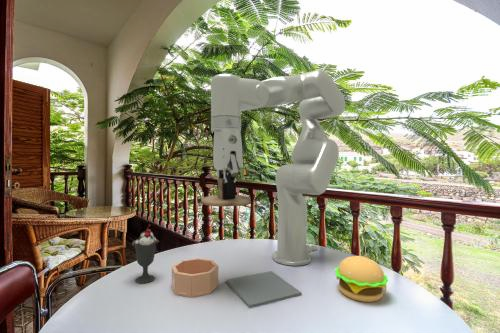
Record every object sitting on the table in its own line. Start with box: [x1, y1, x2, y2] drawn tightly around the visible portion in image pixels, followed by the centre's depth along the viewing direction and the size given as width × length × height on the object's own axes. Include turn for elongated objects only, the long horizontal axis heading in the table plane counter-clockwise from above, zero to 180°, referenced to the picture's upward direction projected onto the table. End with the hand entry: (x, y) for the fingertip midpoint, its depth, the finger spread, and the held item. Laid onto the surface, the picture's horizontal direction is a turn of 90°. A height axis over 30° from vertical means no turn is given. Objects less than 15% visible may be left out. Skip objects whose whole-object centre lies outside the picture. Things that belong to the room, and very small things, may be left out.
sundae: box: [131, 224, 160, 285], centre depth 69 cm, size 7×7×15 cm
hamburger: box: [334, 255, 389, 303], centre depth 64 cm, size 12×12×9 cm
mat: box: [225, 271, 303, 309], centre depth 66 cm, size 14×14×1 cm
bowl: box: [170, 257, 219, 298], centre depth 66 cm, size 11×11×5 cm
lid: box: [200, 178, 251, 207], centre depth 66 cm, size 12×12×6 cm
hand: (226, 197), depth 66 cm, fingers closed on lid, 3 cm apart
